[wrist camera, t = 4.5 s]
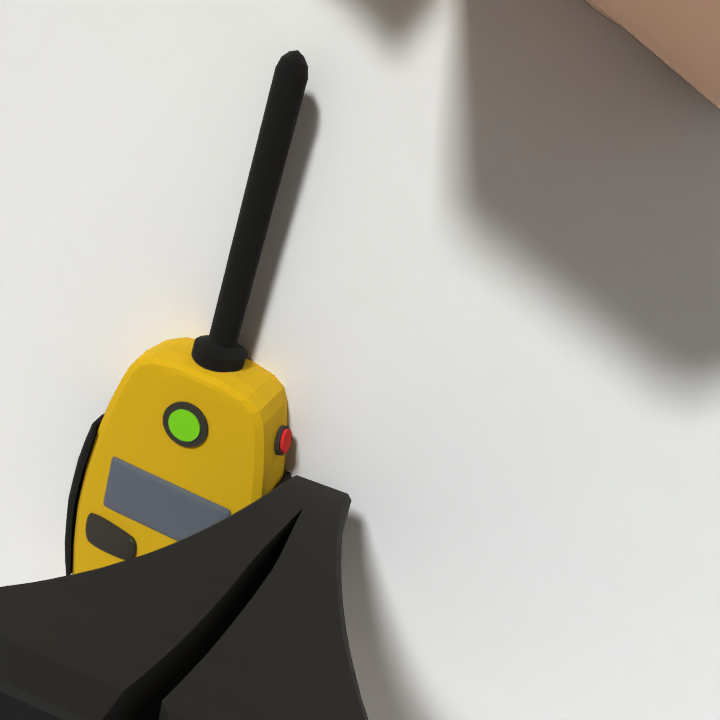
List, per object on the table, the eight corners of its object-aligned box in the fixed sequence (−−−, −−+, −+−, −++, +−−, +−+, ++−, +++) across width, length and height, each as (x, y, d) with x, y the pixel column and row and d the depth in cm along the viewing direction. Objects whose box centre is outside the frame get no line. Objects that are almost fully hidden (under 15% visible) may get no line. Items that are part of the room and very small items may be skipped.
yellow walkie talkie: (33, 645, 15) (131, -13, 9) (83, 593, 17) (192, 13, 11) (203, 731, 15) (420, 92, 9) (237, 668, 16) (436, 101, 10)
